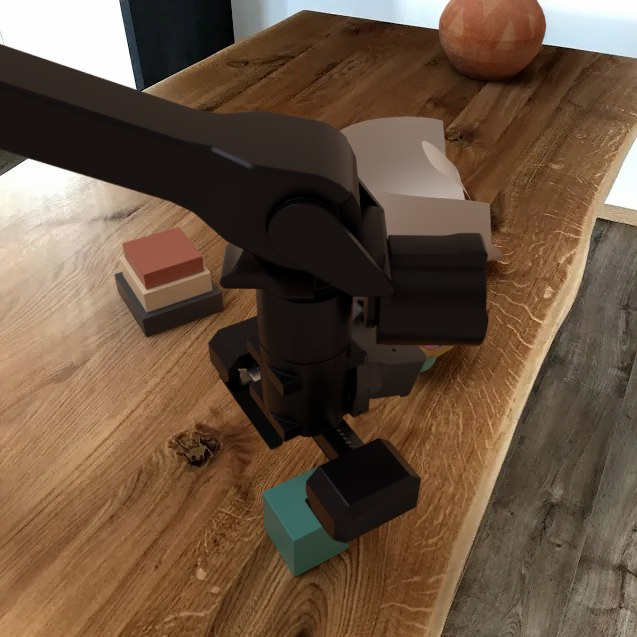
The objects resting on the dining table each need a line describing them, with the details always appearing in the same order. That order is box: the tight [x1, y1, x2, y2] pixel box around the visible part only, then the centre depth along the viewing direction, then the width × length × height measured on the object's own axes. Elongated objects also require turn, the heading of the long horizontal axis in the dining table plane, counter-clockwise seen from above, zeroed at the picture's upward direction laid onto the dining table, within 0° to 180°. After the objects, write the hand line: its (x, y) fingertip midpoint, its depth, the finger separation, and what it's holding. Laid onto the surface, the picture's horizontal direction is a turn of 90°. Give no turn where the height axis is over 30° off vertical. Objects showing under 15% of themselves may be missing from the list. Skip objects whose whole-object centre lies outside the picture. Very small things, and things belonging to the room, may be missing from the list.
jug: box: [438, 0, 547, 82], centre depth 127 cm, size 18×18×20 cm
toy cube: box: [262, 466, 350, 578], centre depth 57 cm, size 5×5×5 cm
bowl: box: [339, 116, 504, 262], centre depth 88 cm, size 20×19×12 cm
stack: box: [114, 226, 224, 338], centre depth 80 cm, size 9×9×7 cm
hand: (304, 488), depth 55 cm, fingers open, 9 cm apart
